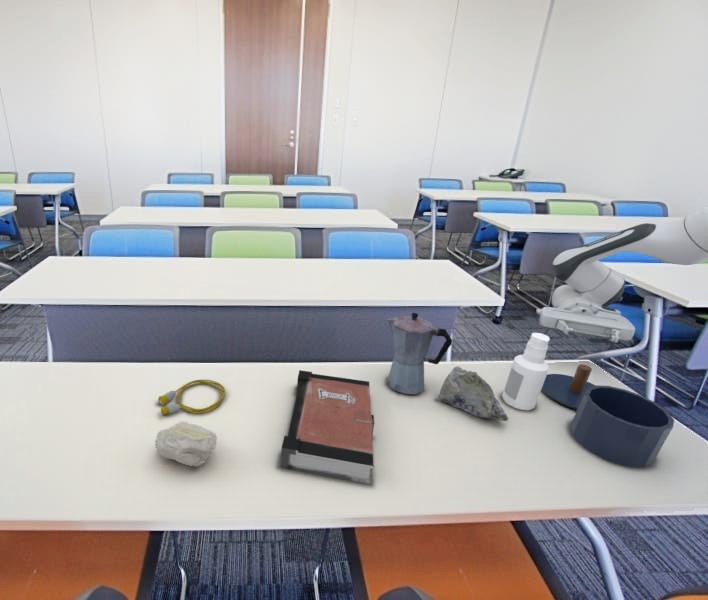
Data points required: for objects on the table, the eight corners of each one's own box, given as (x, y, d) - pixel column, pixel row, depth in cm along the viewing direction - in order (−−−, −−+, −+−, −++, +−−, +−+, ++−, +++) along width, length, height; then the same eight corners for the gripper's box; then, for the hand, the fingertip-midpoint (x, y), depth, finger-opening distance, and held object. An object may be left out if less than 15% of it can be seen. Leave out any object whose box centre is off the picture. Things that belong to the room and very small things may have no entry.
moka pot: (383, 366, 109) (395, 300, 100) (443, 387, 100) (460, 316, 92) (370, 383, 101) (382, 313, 93) (434, 407, 93) (452, 332, 85)
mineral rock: (508, 428, 87) (521, 391, 83) (463, 432, 86) (473, 394, 82) (472, 392, 99) (482, 357, 95) (432, 394, 98) (440, 360, 93)
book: (374, 485, 73) (378, 465, 71) (280, 467, 76) (281, 447, 74) (369, 397, 96) (372, 380, 94) (298, 386, 100) (299, 370, 98)
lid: (601, 386, 102) (613, 359, 98) (621, 422, 89) (635, 392, 86) (534, 372, 107) (543, 345, 104) (543, 404, 95) (554, 375, 92)
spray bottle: (514, 390, 100) (535, 326, 92) (541, 406, 94) (566, 340, 87) (495, 396, 97) (515, 332, 90) (522, 414, 91) (546, 346, 84)
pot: (638, 431, 87) (656, 396, 83) (665, 477, 76) (688, 438, 72) (563, 413, 92) (578, 379, 88) (578, 453, 81) (595, 416, 77)
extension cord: (161, 385, 100) (161, 378, 99) (224, 381, 101) (224, 375, 100) (155, 417, 89) (155, 410, 88) (226, 413, 90) (226, 406, 89)
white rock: (161, 439, 83) (153, 481, 74) (153, 410, 79) (144, 451, 70) (218, 433, 83) (218, 474, 75) (214, 404, 79) (213, 444, 71)
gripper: (538, 298, 116) (547, 316, 104) (626, 311, 108) (647, 332, 96) (532, 317, 118) (540, 337, 107) (618, 331, 110) (636, 355, 99)
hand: (591, 335), depth 101 cm, fingers open, 8 cm apart
